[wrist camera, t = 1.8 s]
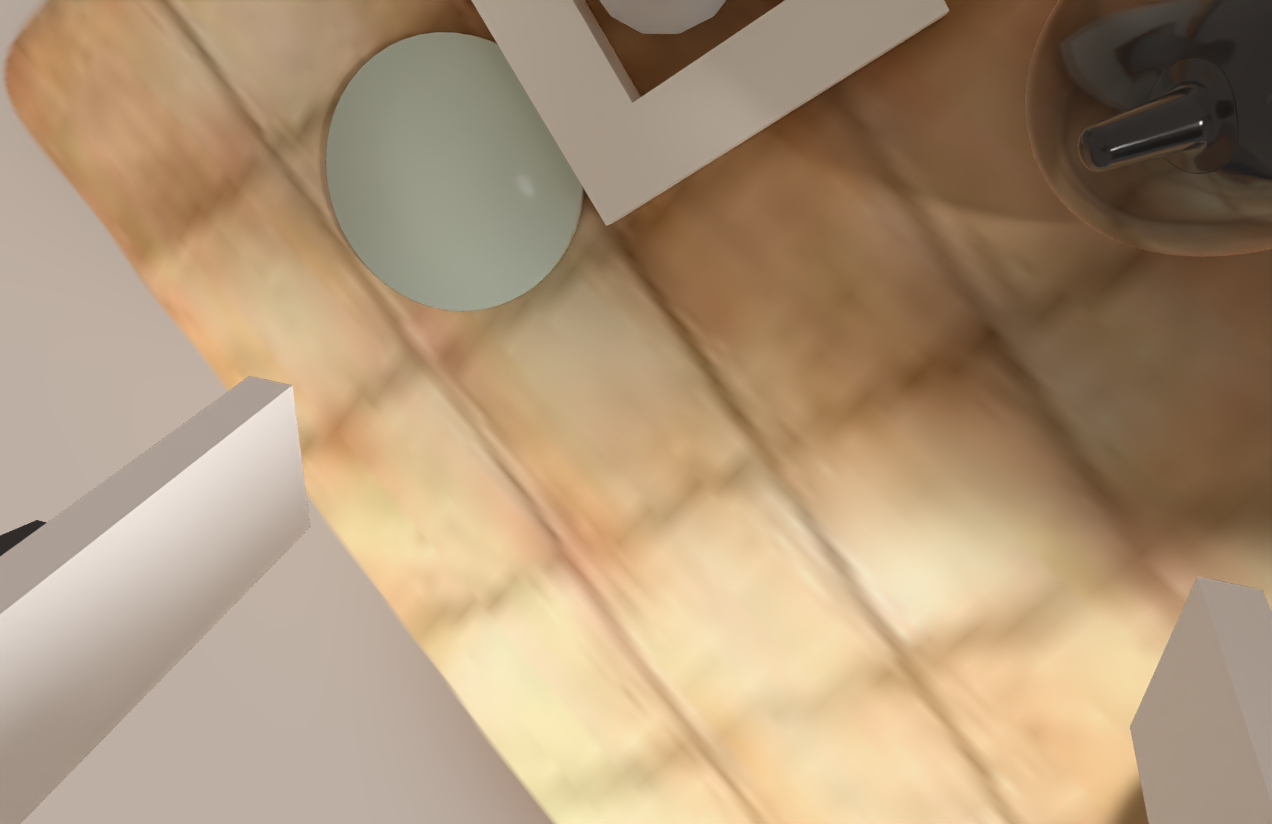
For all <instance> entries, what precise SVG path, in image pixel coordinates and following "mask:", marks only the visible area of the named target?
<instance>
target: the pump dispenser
mask: <svg viewBox="0 0 1272 824" xmlns="http://www.w3.org/2000/svg"><path fill="white" fill-rule="evenodd" d="M1025 119H1026V127H1027V133H1028V138H1029V142H1030V146H1031V149H1032V152H1033V155H1034V158H1035V160H1036V163H1037V165H1038V167H1039V169H1040V172H1041V173H1042V175H1043V177H1044V179H1045V180H1046V182H1047V184H1048V185H1049V187H1050V188H1051V190H1052V191H1053V192H1054V194H1055V195H1056V196H1057V197H1058V199H1059V200H1060V201H1061V202H1062V203H1063V204H1064V205H1065V206H1066V207H1067V208H1068V209H1069V210H1070V211H1071V212H1072V213H1073V214H1074V215H1075V216H1077V217H1078V218H1079V219H1080V220H1082V221H1083V222H1084V223H1086V224H1087V225H1089V226H1090V227H1092V228H1093V229H1095V230H1097V231H1098V232H1100V233H1102V234H1104V235H1106V236H1108V237H1110V238H1112V239H1114V240H1116V241H1119V242H1121V243H1123V244H1126V245H1129V246H1132V247H1135V248H1139V249H1142V250H1146V251H1151V252H1156V253H1161V254H1168V255H1178V256H1228V255H1239V254H1247V253H1253V252H1259V251H1265V250H1269V249H1272V0H1058V1H1057V3H1056V4H1055V6H1054V7H1053V9H1052V11H1051V12H1050V14H1049V16H1048V18H1047V20H1046V22H1045V24H1044V26H1043V28H1042V30H1041V32H1040V34H1039V37H1038V39H1037V42H1036V44H1035V47H1034V50H1033V54H1032V57H1031V61H1030V65H1029V69H1028V74H1027V81H1026V89H1025Z"/></svg>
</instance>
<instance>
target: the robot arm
mask: <svg viewBox="0 0 1272 824" xmlns="http://www.w3.org/2000/svg"><path fill="white" fill-rule="evenodd" d="M309 528H310V522H309V513H308V506H307V497H306V489H305V481H304V473H303V466H302V458H301V450H300V442H299V434H298V426H297V418H296V410H295V403H294V395H293V387H292V385H289V384H284V383H280V382H275V381H270V380H265V379H261V378H256V377H251V376H249V377H247V378H246V379H245V380H243V381H242V382H240V383H239V384H238V385H236V386H235V387H234V388H232V389H231V390H229V391H228V392H227V393H225V394H224V395H223V396H221V397H220V398H219V399H217V400H216V401H214V402H213V403H212V404H210V405H209V406H207V407H206V408H205V409H203V410H202V411H200V412H199V413H198V414H196V415H195V416H194V417H192V418H191V419H189V420H188V421H187V422H185V423H184V424H183V425H181V426H180V427H178V428H177V429H176V430H174V431H173V432H171V433H170V434H169V435H167V436H166V437H165V438H163V439H162V440H161V441H159V442H158V443H156V444H155V445H154V446H152V447H151V448H149V449H148V450H147V451H146V452H144V453H143V454H141V455H140V456H139V457H137V458H136V459H134V460H133V461H131V462H130V463H129V464H127V465H126V466H125V467H123V468H122V469H121V470H119V471H118V472H116V473H115V474H114V475H112V476H111V477H109V478H108V479H107V480H105V481H104V482H102V483H101V484H100V485H98V486H97V487H96V488H94V489H93V490H92V491H90V492H89V493H87V494H86V495H85V496H83V497H82V498H80V499H79V500H78V501H76V502H75V503H73V504H72V505H71V506H69V507H68V508H67V509H65V510H64V511H62V512H61V513H60V514H58V515H57V516H56V517H54V518H53V519H52V520H50V521H49V522H47V523H46V522H42V521H38V520H36V521H34V522H31V523H29V524H27V525H24V526H22V527H20V528H17V529H15V530H12V531H10V532H8V533H5V534H3V535H1V536H0V824H21V823H22V822H23V820H24V819H25V818H26V817H27V816H28V815H29V814H30V813H31V812H32V811H33V810H34V809H35V808H36V807H37V806H38V805H39V804H40V803H41V802H42V801H43V800H44V799H45V798H46V797H47V796H48V795H49V794H50V793H51V792H52V791H53V790H54V789H55V788H56V787H57V786H58V785H59V784H60V783H61V782H62V781H63V780H64V779H65V777H67V775H68V774H69V773H70V772H71V771H72V770H73V769H74V768H75V767H76V766H77V765H78V764H79V763H80V762H81V761H82V760H83V759H84V758H85V757H86V756H87V755H88V754H89V753H90V752H91V751H92V750H93V749H94V748H95V747H96V746H97V745H98V744H99V743H100V742H101V741H102V740H103V739H104V738H105V737H106V735H107V734H109V733H110V731H111V730H112V729H113V728H114V727H115V726H116V725H117V724H118V723H119V722H120V721H121V720H122V719H123V718H124V717H125V716H126V715H127V714H128V713H129V712H130V711H131V710H132V709H133V708H134V707H135V706H136V705H137V704H138V703H139V702H140V701H141V700H142V699H143V698H144V697H145V696H146V695H147V693H148V692H150V691H151V690H152V689H153V687H154V686H155V685H156V684H157V683H158V682H159V681H160V680H161V679H162V678H163V677H164V676H165V675H166V674H167V673H168V672H169V671H170V670H171V669H172V668H173V667H174V666H175V665H176V664H177V663H178V662H179V661H180V660H181V659H182V658H183V657H184V656H185V655H186V654H187V653H188V652H189V651H190V650H191V649H192V648H193V647H194V645H195V644H196V643H197V642H198V641H199V640H200V639H201V638H202V637H203V636H204V635H205V634H206V633H207V632H208V631H209V630H210V629H211V628H212V627H213V626H214V625H215V624H216V623H217V622H218V621H219V620H220V619H221V618H222V617H223V616H224V615H225V614H226V613H227V612H228V611H229V610H230V609H231V608H232V607H233V606H234V604H236V603H237V601H238V600H239V599H240V598H241V597H242V596H243V595H244V594H245V593H246V592H247V591H248V590H249V589H250V588H251V587H252V586H253V585H254V584H255V583H256V582H257V581H258V580H259V579H260V578H261V577H262V576H263V575H264V574H265V573H266V572H267V571H268V570H269V569H270V568H271V567H272V566H273V565H274V564H275V563H276V562H277V561H278V559H280V557H281V556H282V555H283V554H284V553H285V552H286V551H287V550H288V549H289V548H290V547H291V546H292V545H293V544H294V543H295V542H296V541H297V540H298V539H299V538H300V537H301V536H302V535H303V534H304V533H305V532H306V531H307V530H308V529H309ZM1130 729H1131V735H1132V740H1133V745H1134V750H1135V755H1136V760H1137V766H1138V771H1139V776H1140V781H1141V786H1142V792H1143V797H1144V802H1145V807H1146V812H1147V818H1148V823H1149V824H1272V612H1271V609H1270V607H1269V604H1268V602H1267V599H1266V597H1265V595H1264V592H1263V590H1261V589H1256V588H1251V587H1246V586H1242V585H1237V584H1232V583H1227V582H1223V581H1218V580H1213V579H1208V578H1204V577H1199V576H1197V579H1196V581H1195V583H1194V585H1193V587H1192V590H1191V592H1190V594H1189V596H1188V599H1187V601H1186V603H1185V605H1184V608H1183V610H1182V612H1181V614H1180V616H1179V619H1178V621H1177V623H1176V625H1175V628H1174V630H1173V632H1172V634H1171V637H1170V639H1169V641H1168V643H1167V645H1166V648H1165V650H1164V652H1163V654H1162V657H1161V659H1160V661H1159V663H1158V666H1157V668H1156V670H1155V672H1154V675H1153V677H1152V679H1151V681H1150V683H1149V686H1148V688H1147V690H1146V692H1145V695H1144V697H1143V699H1142V701H1141V704H1140V706H1139V708H1138V710H1137V712H1136V715H1135V717H1134V719H1133V721H1132V724H1131V726H1130Z"/></svg>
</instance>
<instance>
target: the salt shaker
mask: <svg viewBox="0 0 1272 824" xmlns="http://www.w3.org/2000/svg"><path fill="white" fill-rule="evenodd" d="M599 1H600V2H601V4H602V5H603V6H604V8H605V9H606V10H607V12H608V13H609V15H610V16H611V17H613V18H615V19H616V20H618V21H620V22H622V23H624V24H626V25H627V26H629V27H631V28H633V29H635V30H636V31H638V32H640V33H642V34H680V33H682V32H684V31H686V30H688V29H690V28H692V27H694V26H696V25H698V24H700V23H702V22H704V21H706V20H708V19H710V18H712V17H714V16H715V15H716V13H717V12H718V11H719V9H720V8H721V7H722V5H723V4H724V3H725V2H726V0H599Z"/></svg>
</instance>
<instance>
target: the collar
mask: <svg viewBox="0 0 1272 824" xmlns="http://www.w3.org/2000/svg"><path fill="white" fill-rule="evenodd" d="M471 1H472V2H473V4H474V6H475V7H476V9H477V11H478V12H479V14H480V16H481V17H482V19H483V21H484V22H485V24H486V26H487V27H488V29H489V31H490V32H491V34H492V36H493V37H494V39H495V41H496V42H497V44H498V46H499V47H500V49H501V51H502V53H503V54H504V56H505V58H506V59H507V61H508V63H509V64H510V66H511V68H512V69H513V71H514V73H515V74H516V76H517V78H518V79H519V81H520V83H521V84H522V86H523V88H524V89H525V91H526V93H527V94H528V96H529V98H530V99H531V101H532V103H533V104H534V106H535V108H536V109H537V111H538V113H539V114H540V116H541V118H542V119H543V121H544V123H545V124H546V126H547V128H548V129H549V131H550V133H551V134H552V136H553V138H554V139H555V141H556V143H557V145H558V146H559V148H560V150H561V151H562V153H563V155H564V156H565V158H566V160H567V161H568V163H569V165H570V166H571V168H572V170H573V171H574V173H575V175H576V176H577V178H578V180H579V181H580V183H581V185H582V186H583V188H584V190H585V191H586V193H587V195H588V196H589V198H590V200H591V201H592V203H593V205H594V206H595V208H596V210H597V211H598V213H599V215H600V216H601V218H602V220H603V221H604V223H605V225H606V226H607V225H609V224H611V223H614V222H616V221H618V220H620V219H621V218H623V217H624V216H626V215H628V214H629V213H631V212H632V211H634V210H636V209H637V208H639V207H640V206H642V205H644V204H645V203H647V202H648V201H650V200H652V199H653V198H655V197H656V196H658V195H660V194H661V193H663V192H664V191H666V190H667V189H669V188H671V187H672V186H674V185H675V184H677V183H679V182H680V181H682V180H683V179H685V178H687V177H688V176H690V175H691V174H693V173H695V172H696V171H698V170H699V169H701V168H703V167H704V166H706V165H707V164H709V163H711V162H712V161H714V160H715V159H717V158H719V157H720V156H722V155H723V154H725V153H727V152H728V151H730V150H731V149H733V148H734V147H736V146H738V145H739V144H741V143H742V142H744V141H746V140H747V139H749V138H750V137H752V136H754V135H755V134H757V133H758V132H760V131H762V130H763V129H765V128H766V127H768V126H770V125H771V124H773V123H774V122H776V121H778V120H779V119H781V118H782V117H784V116H786V115H787V114H789V113H790V112H792V111H794V110H795V109H797V108H798V107H800V106H801V105H803V104H805V103H806V102H808V101H809V100H811V99H813V98H814V97H816V96H817V95H819V94H821V93H822V92H824V91H825V90H827V89H829V88H830V87H832V86H833V85H835V84H837V83H838V82H840V81H841V80H843V79H845V78H846V77H848V76H849V75H851V74H853V73H854V72H856V71H857V70H859V69H860V68H862V67H864V66H865V65H867V64H868V63H870V62H872V61H873V60H875V59H876V58H878V57H880V56H881V55H883V54H884V53H886V52H888V51H889V50H891V49H892V48H894V47H896V46H897V45H899V44H900V43H902V42H904V41H905V40H907V39H908V38H910V37H912V36H913V35H915V34H916V33H918V32H920V31H921V30H923V29H924V28H926V27H927V26H929V25H931V24H932V23H934V22H935V21H937V20H939V19H940V18H942V17H943V16H945V15H946V14H947V13H948V12H949V9H948V7H947V5H946V3H945V1H944V0H785V1H783V2H782V3H780V4H779V5H777V6H776V7H774V8H773V9H771V10H770V11H768V12H767V13H765V14H764V15H762V16H761V17H759V18H758V19H756V20H755V21H753V22H752V23H750V24H749V25H747V26H746V27H744V28H743V29H742V30H740V31H739V32H737V33H736V34H734V35H733V36H731V37H730V38H728V39H727V40H725V41H724V42H722V43H721V44H719V45H718V46H716V47H715V48H713V49H712V50H710V51H709V52H707V53H706V54H704V55H703V56H701V57H700V58H698V59H697V60H695V61H694V62H692V63H691V64H689V65H688V66H687V67H685V68H684V69H682V70H681V71H679V72H678V73H676V74H675V75H673V76H672V77H670V78H669V79H667V80H666V81H664V82H663V83H661V84H660V85H658V86H657V87H655V88H654V89H652V90H651V91H649V92H648V93H646V94H645V95H643V96H642V97H641V96H640V94H639V93H638V91H637V89H636V87H635V86H634V84H633V82H632V80H631V79H630V77H629V75H628V74H627V72H626V70H625V68H624V67H623V65H622V63H621V62H620V60H619V58H618V56H617V55H616V53H615V51H614V49H613V48H612V46H611V44H610V43H609V41H608V39H607V37H606V36H605V34H604V32H603V30H602V29H601V27H600V25H599V24H598V22H597V20H596V18H595V17H594V15H593V13H592V11H591V10H590V8H589V6H588V5H587V3H586V1H585V0H471Z"/></svg>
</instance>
